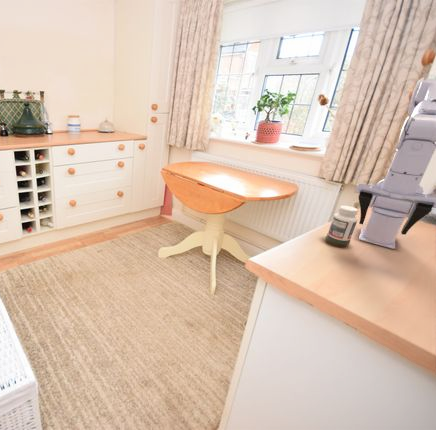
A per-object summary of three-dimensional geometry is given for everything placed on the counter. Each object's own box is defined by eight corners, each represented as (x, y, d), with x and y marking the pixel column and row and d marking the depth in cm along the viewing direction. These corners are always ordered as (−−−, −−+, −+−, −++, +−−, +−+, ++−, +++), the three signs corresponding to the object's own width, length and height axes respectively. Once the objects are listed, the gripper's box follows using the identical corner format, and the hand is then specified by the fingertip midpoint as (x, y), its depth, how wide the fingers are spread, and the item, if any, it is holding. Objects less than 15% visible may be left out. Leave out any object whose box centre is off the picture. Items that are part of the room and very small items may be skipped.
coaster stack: (326, 236, 87) (328, 230, 87) (349, 243, 84) (351, 237, 83) (322, 243, 83) (325, 236, 83) (346, 250, 80) (349, 243, 79)
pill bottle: (342, 233, 85) (353, 205, 82) (354, 242, 80) (366, 212, 77) (323, 232, 85) (333, 204, 82) (334, 240, 81) (345, 211, 77)
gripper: (362, 168, 66) (342, 223, 71) (455, 182, 57) (424, 244, 62) (365, 164, 70) (346, 215, 76) (452, 176, 61) (423, 233, 67)
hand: (381, 227), depth 69 cm, fingers open, 7 cm apart
